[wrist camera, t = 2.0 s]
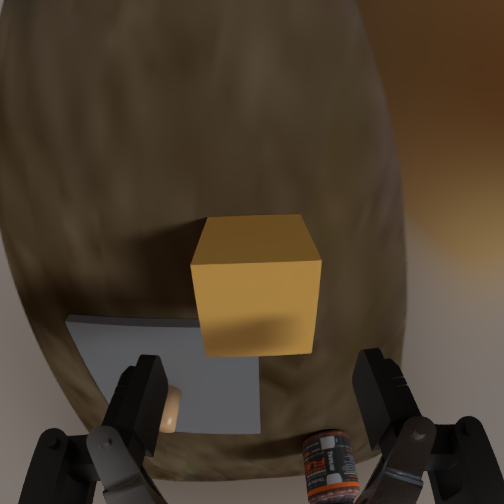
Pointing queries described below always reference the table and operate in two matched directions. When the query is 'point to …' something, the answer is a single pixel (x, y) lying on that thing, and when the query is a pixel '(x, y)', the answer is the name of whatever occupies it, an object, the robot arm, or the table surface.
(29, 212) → the table surface
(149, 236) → the table surface
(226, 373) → the thin gray plate
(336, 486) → the supplement bottle
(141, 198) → the table surface
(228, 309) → the mustard foam cube
